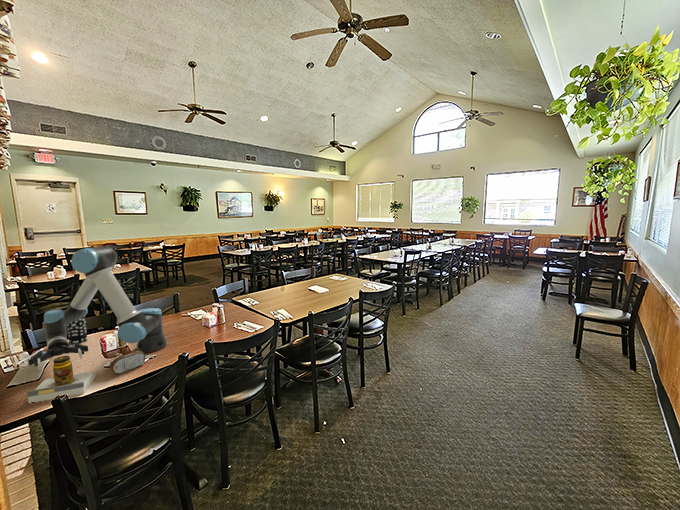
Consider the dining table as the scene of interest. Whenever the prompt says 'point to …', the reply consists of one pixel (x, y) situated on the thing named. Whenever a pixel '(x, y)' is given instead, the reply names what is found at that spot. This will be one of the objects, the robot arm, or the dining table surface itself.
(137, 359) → the brown grey oval slab
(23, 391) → the dining table surface
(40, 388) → the grey striped flat slab
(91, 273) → the robot arm
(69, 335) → the spotted tube
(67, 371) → the condiment
